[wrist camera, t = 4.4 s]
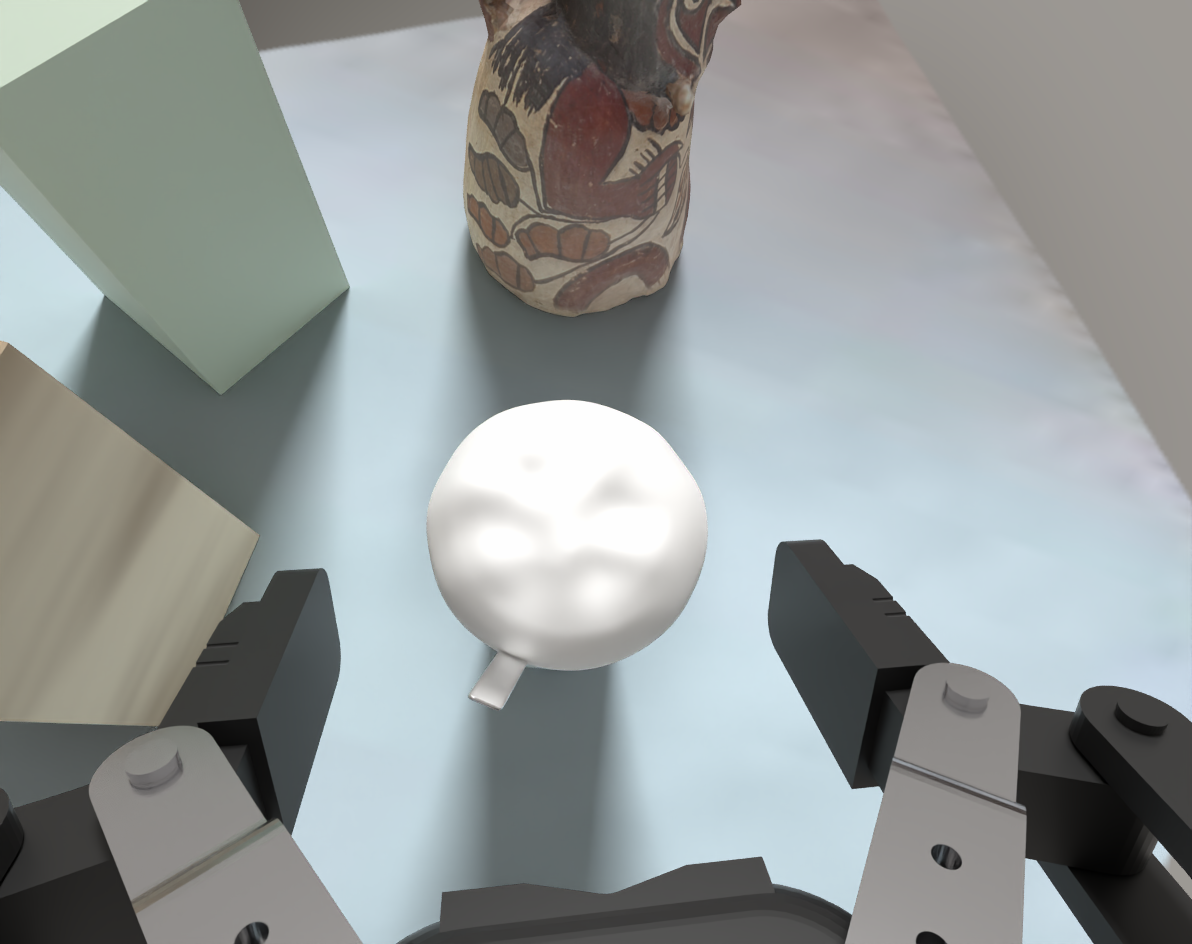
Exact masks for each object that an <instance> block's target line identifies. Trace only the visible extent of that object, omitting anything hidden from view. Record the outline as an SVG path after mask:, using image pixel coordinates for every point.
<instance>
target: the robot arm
mask: <svg viewBox="0 0 1192 944" xmlns="http://www.w3.org/2000/svg"><path fill="white" fill-rule="evenodd" d="M768 626H769V633H770V637H771V640H772V643H773V646H774V648H775V650H776V652H777V653H778V655H779V657H780V659H781V661H782V662H783V664H784V666H785V668H786V670H787V672H788V673H789V675H790V677H791V679H792V681H793V683H794V684H795V686H796V688H797V690H798V692H799V693H800V695H801V697H802V699H803V701H804V703H805V704H806V706H807V708H808V710H809V712H810V714H811V715H812V717H813V719H814V721H815V723H816V724H817V726H818V728H819V730H820V732H821V734H822V735H823V737H824V739H825V741H826V743H827V745H828V746H829V748H830V750H831V752H832V754H833V755H834V757H835V759H836V761H837V763H838V765H839V766H840V768H841V770H842V772H843V774H844V776H845V777H846V779H847V781H848V783H849V785H850V787H851V788H852V789H857V788H866V787H876V786H879V787H880V788H881V790H882V792H883V793H884V794H883V798H882V802H881V806H880V810H879V814H878V818H877V822H876V825H875V829H874V833H873V837H872V841H871V845H870V849H869V853H868V856H867V860H866V864H865V868H864V872H863V876H862V880H861V883H860V887H859V891H858V895H857V899H856V903H855V907H854V911H853V914H852V915H851V914H850V913H848V912H847V911H845V910H843V909H842V908H840V907H839V906H836V905H834V904H832V903H830V902H828V901H826V900H824V899H822V898H820V897H818V896H815V895H813V894H810V893H807V892H805V891H802V890H799V889H795V888H791V887H787V886H783V885H778V884H772V882H771V880H770V877H769V874H768V872H767V869H766V866H765V863H764V861H763V858H762V857H754V858H745V859H737V860H728V861H719V862H710V863H701V864H692V865H686V866H683V867H680V868H678V869H675V870H673V871H670V872H667V873H665V874H662V875H660V876H657V877H655V878H652V879H649V880H647V881H644V882H642V883H639V884H637V885H634V886H631V887H629V888H626V889H624V890H621V891H618V892H615V893H611V894H598V893H591V892H583V891H576V890H569V889H561V888H554V887H547V886H539V885H532V884H524V883H523V884H514V885H505V886H496V887H488V888H479V889H470V890H461V891H452V892H443V893H442V902H441V915H440V922H437V923H434V924H432V925H429V926H427V927H425V928H423V929H421V930H419V931H417V932H415V933H413V934H411V935H409V936H407V937H405V938H404V939H402V940H401V941H399V942H398V943H396V944H1022V932H1023V905H1024V877H1025V858H1028V859H1033V860H1037V862H1038V863H1039V865H1040V866H1041V867H1042V869H1043V870H1044V872H1045V873H1046V875H1047V876H1048V878H1049V879H1050V881H1051V882H1052V884H1053V885H1054V886H1055V888H1056V889H1057V891H1058V892H1059V894H1060V895H1061V897H1062V898H1063V900H1064V901H1065V903H1066V904H1067V905H1068V907H1069V908H1070V910H1071V911H1072V913H1073V914H1074V916H1075V917H1076V919H1077V920H1078V922H1079V923H1080V924H1081V926H1082V927H1083V929H1084V930H1085V932H1086V933H1087V935H1088V936H1089V938H1090V939H1091V941H1092V942H1093V943H1094V944H1192V899H1191V898H1190V897H1189V896H1188V895H1187V893H1186V892H1185V891H1184V890H1183V889H1182V888H1181V886H1180V885H1179V884H1178V883H1177V882H1176V881H1175V879H1174V878H1173V877H1172V876H1171V875H1170V873H1169V872H1168V871H1167V870H1166V869H1165V868H1164V866H1163V865H1162V864H1161V863H1160V862H1159V861H1158V859H1157V858H1156V857H1155V856H1154V855H1153V854H1152V852H1153V850H1154V848H1155V846H1156V844H1157V841H1159V842H1160V843H1161V844H1162V845H1163V846H1164V848H1165V849H1166V850H1167V851H1168V852H1169V853H1170V854H1171V856H1172V857H1173V858H1174V859H1175V860H1176V861H1177V862H1178V864H1179V865H1180V866H1181V867H1182V868H1183V869H1184V870H1185V871H1186V873H1187V874H1188V875H1189V876H1190V877H1191V879H1192V722H1191V721H1189V720H1188V719H1187V718H1186V717H1185V716H1184V715H1182V714H1181V713H1180V712H1178V711H1177V710H1175V709H1174V708H1172V707H1171V706H1169V705H1168V704H1166V703H1164V702H1162V701H1160V700H1158V699H1156V698H1154V697H1152V696H1149V695H1147V694H1144V693H1142V692H1138V691H1135V690H1132V689H1128V688H1123V687H1117V686H1096V687H1092V688H1089V689H1088V690H1086V691H1084V693H1083V694H1082V695H1081V698H1080V700H1079V703H1078V706H1077V708H1076V711H1075V712H1070V711H1063V710H1056V709H1049V708H1043V707H1036V706H1029V705H1024V704H1019V702H1018V700H1017V699H1016V697H1015V696H1014V694H1013V693H1012V692H1011V691H1010V690H1009V689H1008V688H1007V687H1006V686H1005V685H1004V684H1003V683H1001V682H1000V681H998V680H997V679H995V678H994V677H992V676H990V675H988V674H986V673H984V672H982V671H980V670H977V669H974V668H972V667H968V666H964V665H960V664H954V663H950V662H949V661H948V660H947V659H946V658H945V657H944V655H943V654H942V653H941V652H940V651H939V650H938V648H937V647H936V646H935V645H934V644H933V643H932V642H931V640H930V639H929V638H928V637H927V636H926V635H925V634H924V632H923V631H922V630H921V629H920V628H919V627H918V626H917V624H916V623H915V622H914V621H913V620H912V619H911V617H910V616H906V612H905V611H904V609H903V608H902V607H901V606H900V605H899V604H898V603H897V601H893V597H892V596H891V595H890V593H889V592H888V591H887V590H886V589H885V588H884V586H883V585H882V584H881V583H880V582H879V581H878V580H877V579H876V578H874V577H873V576H871V575H869V574H868V573H866V572H865V571H863V570H861V569H860V568H858V567H856V566H855V565H853V564H849V565H844V564H843V563H842V562H841V561H840V559H839V558H838V557H837V556H836V554H835V553H834V552H833V551H832V550H831V548H830V547H829V546H828V545H827V543H826V542H825V541H823V540H820V539H819V540H803V541H786V542H781V543H780V544H779V545H778V547H777V550H776V555H775V562H774V570H773V578H772V586H771V593H770V601H769V609H768ZM206 645H207V647H206V649H203V651H202V653H201V654H200V656H199V658H198V660H197V661H196V667H193V668H192V670H191V672H190V673H189V675H188V677H187V678H186V680H185V682H184V684H183V685H182V687H181V689H180V690H179V692H178V694H177V696H176V697H175V699H174V701H173V702H172V704H171V706H170V708H169V709H168V711H167V713H166V714H165V716H164V718H163V720H162V721H161V723H160V725H159V726H158V728H157V730H155V731H152V732H149V733H146V734H144V735H142V736H139V737H137V738H135V739H133V740H131V741H129V742H128V743H126V744H125V745H123V746H121V747H120V748H118V749H117V750H116V751H115V752H113V753H112V754H111V755H110V756H109V757H108V758H107V759H106V760H104V761H103V763H102V764H101V765H100V766H99V767H98V769H97V770H96V772H95V773H94V775H93V777H92V779H91V782H90V784H89V785H86V786H83V787H81V788H78V789H75V790H72V791H68V792H65V793H62V794H59V795H56V796H52V797H49V798H46V799H43V800H40V801H36V802H33V803H30V804H27V805H23V806H20V807H17V808H13V806H12V804H11V801H10V799H9V797H8V795H7V794H6V792H5V791H4V790H3V789H1V788H0V944H363V943H362V942H361V940H360V939H359V937H358V936H357V934H356V933H355V931H354V930H353V928H352V927H351V925H350V924H349V922H348V921H347V919H346V918H345V916H344V915H343V913H342V912H341V910H340V909H339V907H338V906H337V904H336V903H335V901H334V900H333V898H332V897H331V895H330V894H329V892H328V891H327V889H326V888H325V886H324V885H323V883H322V882H321V880H320V879H319V877H318V876H317V874H316V873H315V871H314V870H313V868H312V867H311V865H310V864H309V862H308V861H307V859H306V858H305V856H304V855H303V853H302V852H301V850H300V849H299V847H298V846H297V844H296V843H295V841H294V840H293V838H292V837H291V835H292V832H293V828H294V825H295V822H296V818H297V815H298V812H299V808H300V805H301V802H302V798H303V795H304V792H305V788H306V785H307V782H308V778H309V775H310V772H311V768H312V765H313V762H314V758H315V755H316V752H317V748H318V745H319V742H320V738H321V735H322V732H323V728H324V725H325V722H326V718H327V715H328V712H329V708H330V705H331V702H332V698H333V695H334V692H335V688H336V685H337V682H338V678H339V672H340V661H341V652H340V641H339V635H338V629H337V624H336V618H335V613H334V607H333V602H332V596H331V590H330V585H329V580H328V576H327V573H326V571H325V570H324V569H323V568H319V569H302V570H286V571H277V572H276V573H275V574H274V576H273V578H272V579H271V581H270V583H269V585H268V587H267V589H266V591H265V593H264V595H263V597H262V599H261V601H259V602H243V603H242V604H241V605H240V606H239V607H237V608H236V609H235V610H234V611H232V612H231V613H230V614H229V615H228V616H226V617H225V618H224V619H223V620H221V621H220V622H219V624H218V625H217V627H216V629H215V630H214V632H213V634H212V636H211V637H210V639H209V641H208V642H207V644H206Z"/></svg>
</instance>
